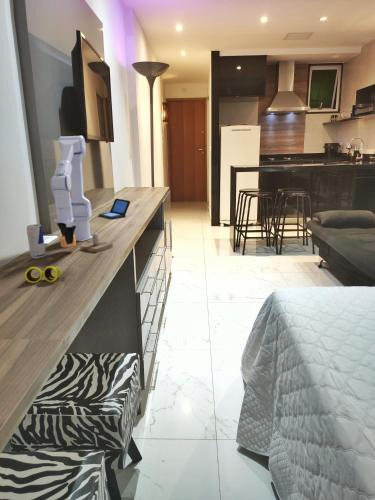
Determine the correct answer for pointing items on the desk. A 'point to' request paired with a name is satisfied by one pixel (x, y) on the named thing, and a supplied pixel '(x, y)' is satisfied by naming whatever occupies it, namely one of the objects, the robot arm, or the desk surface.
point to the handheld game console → (117, 209)
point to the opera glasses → (43, 274)
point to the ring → (64, 244)
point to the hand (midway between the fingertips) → (68, 241)
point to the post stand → (96, 245)
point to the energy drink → (36, 241)
